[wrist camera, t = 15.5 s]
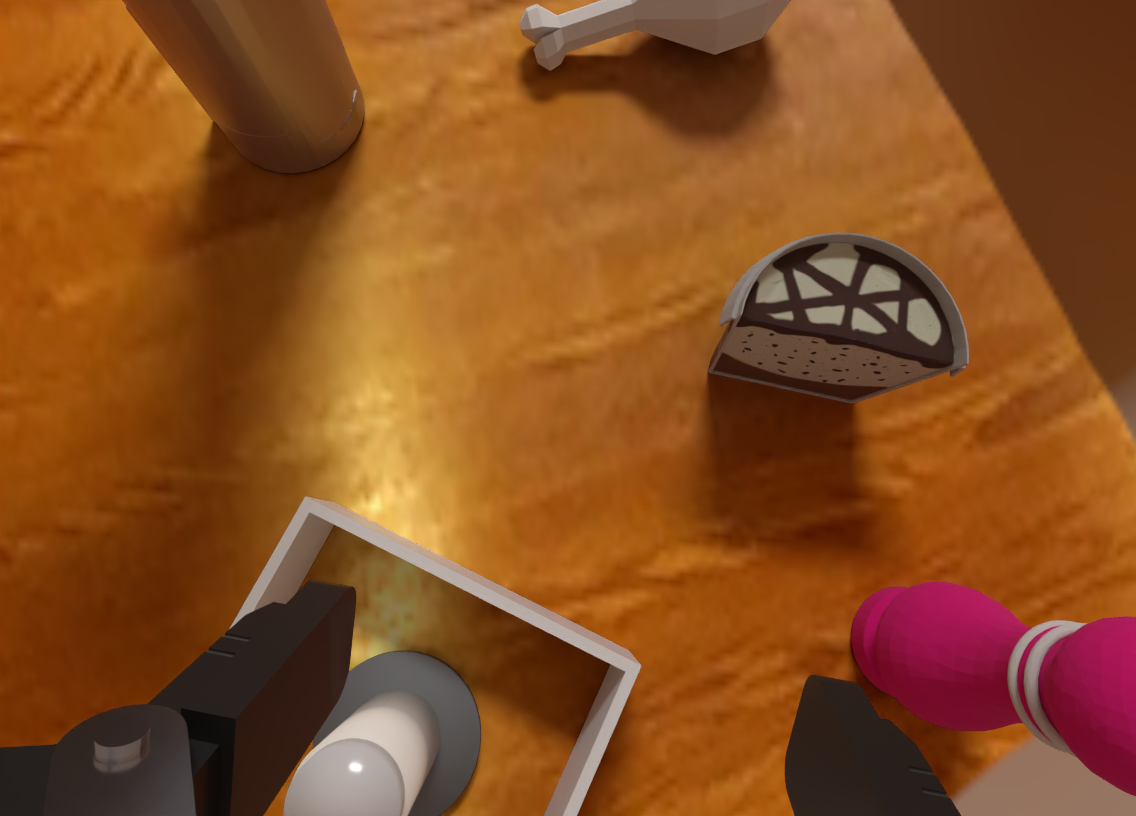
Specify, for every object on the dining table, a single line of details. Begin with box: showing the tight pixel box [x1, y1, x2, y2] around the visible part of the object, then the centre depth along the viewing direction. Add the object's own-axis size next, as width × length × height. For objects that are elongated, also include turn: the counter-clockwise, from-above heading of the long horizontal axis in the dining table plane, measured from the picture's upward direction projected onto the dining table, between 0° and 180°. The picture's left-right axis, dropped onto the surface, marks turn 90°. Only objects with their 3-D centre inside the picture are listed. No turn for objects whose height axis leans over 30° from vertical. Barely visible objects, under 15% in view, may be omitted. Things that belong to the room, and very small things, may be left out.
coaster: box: [313, 651, 481, 816], centre depth 36 cm, size 9×9×1 cm
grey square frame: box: [230, 497, 641, 816], centre depth 33 cm, size 19×19×5 cm
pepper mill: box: [851, 582, 1136, 796], centre depth 28 cm, size 7×7×20 cm
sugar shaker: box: [284, 689, 441, 816], centre depth 31 cm, size 5×5×10 cm
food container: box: [708, 233, 969, 404], centre depth 37 cm, size 12×6×10 cm, turn 78°
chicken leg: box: [519, 0, 791, 71], centre depth 43 cm, size 8×18×8 cm, turn 104°
